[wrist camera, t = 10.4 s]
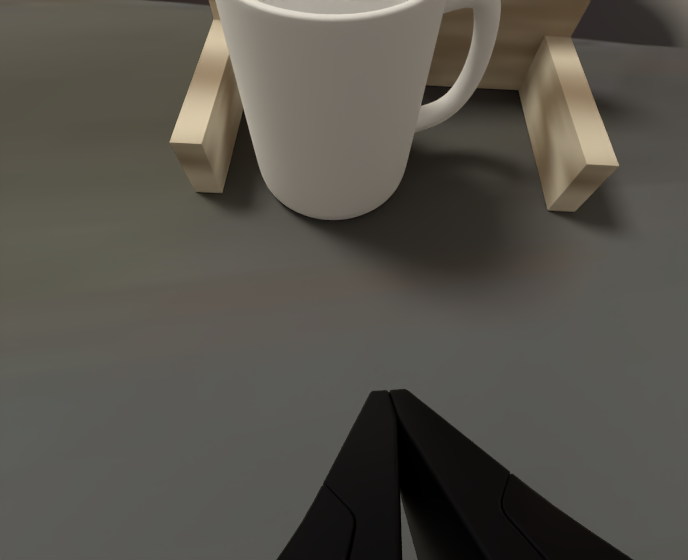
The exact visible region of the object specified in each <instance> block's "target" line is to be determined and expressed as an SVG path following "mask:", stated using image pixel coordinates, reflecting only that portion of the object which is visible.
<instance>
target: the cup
mask: <svg viewBox="0 0 688 560" xmlns="http://www.w3.org/2000/svg"><path fill="white" fill-rule="evenodd" d="M215 2H216V5H217V9H218V13H219V17H220V21H221V24H222V28H223V32H224V36H225V40H226V44H227V47H228V51H229V55H230V59H231V63H232V66H233V70H234V74H235V78H236V82H237V86H238V89H239V93H240V97H241V101H242V105H243V108H244V112H245V116H246V120H247V124H248V128H249V131H250V135H251V139H252V143H253V147H254V150H255V154H256V158H257V162H258V165H259V168H260V171H261V174H262V177H263V179H264V181H265V183H266V185H267V187H268V188H269V190H270V191H271V192H272V194H273V195H274V196H275V197H276V198H277V199H278V200H279V201H280V202H282V203H283V204H284V205H285V206H287V207H288V208H290V209H292V210H294V211H296V212H298V213H300V214H303V215H305V216H308V217H312V218H316V219H323V220H343V219H349V218H354V217H358V216H361V215H363V214H366V213H368V212H370V211H372V210H374V209H376V208H377V207H379V206H380V205H382V204H383V203H384V202H385V201H386V200H387V199H388V198H389V197H390V196H391V195H392V194H393V193H394V192H395V190H396V189H397V187H398V185H399V184H400V182H401V179H402V177H403V174H404V172H405V168H406V165H407V161H408V157H409V153H410V148H411V144H412V140H413V136H414V133H415V132H419V131H422V130H426V129H428V128H431V127H434V126H436V125H438V124H440V123H442V122H444V121H445V120H447V119H448V118H450V117H451V116H452V115H454V114H455V113H456V112H457V111H458V110H460V108H461V107H462V106H463V105H464V104H465V103H466V102H467V101H468V100H469V98H470V97H471V95H472V94H473V93H474V91H475V89H476V88H477V86H478V84H479V83H480V81H481V79H482V77H483V75H484V73H485V70H486V68H487V65H488V63H489V60H490V57H491V54H492V51H493V48H494V45H495V41H496V37H497V32H498V28H499V22H500V14H501V0H215ZM461 8H473V12H474V29H473V36H472V42H471V46H470V50H469V54H468V57H467V60H466V62H465V65H464V67H463V70H462V72H461V74H460V76H459V77H458V79H457V81H456V82H455V84H454V85H453V86H452V88H451V89H450V90H449V91H448V92H447V93H446V94H445V95H444V96H443V97H441V98H440V99H438V100H436V101H434V102H432V103H429V104H426V105H422V106H421V103H422V99H423V95H424V90H425V86H426V82H427V78H428V74H429V70H430V66H431V61H432V57H433V53H434V49H435V45H436V41H437V37H438V32H439V28H440V24H441V20H442V16H443V13H447V12H450V11H453V10H457V9H461Z"/></svg>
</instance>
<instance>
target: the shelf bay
mask: <svg viewBox="0 0 688 560" xmlns="http://www.w3.org/2000/svg"><path fill="white" fill-rule="evenodd" d="M590 1H591V0H501V14H500V22H499V28H498V32H497V37H496V41H495V45H494V48H493V51H492V54H491V57H490V60H489V63H488V65H487V68H486V70H485V73H484V75H483V77H482V79H481V81H480V83H479V84H478V86H477V88H487V89H506V90H518V91H519V95H520V100H521V104H522V108H523V112H524V116H525V120H526V124H527V128H528V132H529V136H530V140H531V144H532V148H533V153H534V157H535V161H536V165H537V169H538V173H539V177H540V181H541V185H542V189H543V193H544V197H545V202H546V206H547V210H550V211H569V212H575V211H576V210H577V209H578V208H579V207H580V206H581V205H582V204H583V203H584V202H585V201H586V200H587V199H588V198H589V197H590V196H591V195H592V194H593V192H594V191H595V190H596V189H597V188H598V187H599V186H600V185H601V184H602V183H603V182H604V181H605V180H606V179H607V178H608V177H609V176H610V175H611V174H612V173H613V172H614V171H615V170H616V169H617V168H618V167H619V164H618V162H617V159H616V156H615V154H614V151H613V148H612V146H611V143H610V140H609V138H608V135H607V132H606V130H605V127H604V124H603V122H602V119H601V117H600V114H599V111H598V109H597V106H596V103H595V101H594V98H593V95H592V93H591V90H590V87H589V85H588V82H587V79H586V77H585V74H584V72H583V69H582V66H581V64H580V61H579V58H578V56H577V53H576V50H575V48H574V45H573V42H572V40H571V35H572V34H573V32H574V30H575V28H576V26H577V25H578V23H579V21H580V19H581V17H582V15H583V14H584V12H585V10H586V8H587V6H588V5H589V3H590ZM209 3H210V6H211V10H212V14H213V17H214V20H213V23H212V26H211V29H210V31H209V34H208V37H207V40H206V42H205V45H204V48H203V51H202V54H201V56H200V59H199V62H198V65H197V67H196V70H195V73H194V76H193V79H192V81H191V84H190V87H189V90H188V92H187V95H186V98H185V101H184V104H183V106H182V109H181V112H180V115H179V117H178V120H177V123H176V126H175V128H174V131H173V134H172V137H171V140H170V144H171V146H172V148H173V150H174V152H175V154H176V156H177V158H178V160H179V161H180V163H181V165H182V167H183V169H184V171H185V173H186V175H187V177H188V179H189V181H190V182H191V184H192V186H193V188H194V190H195V192H210V193H223V189H224V185H225V181H226V177H227V173H228V169H229V165H230V161H231V157H232V153H233V149H234V145H235V141H236V137H237V133H238V129H239V125H240V121H241V117H242V113H243V109H244V108H243V105H242V101H241V97H240V93H239V89H238V86H237V82H236V78H235V74H234V70H233V66H232V63H231V59H230V55H229V51H228V47H227V44H226V40H225V36H224V32H223V28H222V24H221V21H220V17H219V13H218V9H217V5H216V2H215V0H209ZM473 29H474V12H473V8H461V9H457V10H453V11H450V12H447V13H443V16H442V20H441V24H440V28H439V32H438V37H437V41H436V45H435V49H434V53H433V57H432V61H431V66H430V70H429V74H428V78H427V82H426V85H429V86H448V87H452V86H453V85H454V84H455V82H456V81H457V79H458V77H459V76H460V74H461V72H462V70H463V67H464V65H465V62H466V60H467V57H468V54H469V50H470V46H471V42H472V36H473Z"/></svg>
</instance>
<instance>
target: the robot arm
mask: <svg viewBox="0 0 688 560" xmlns="http://www.w3.org/2000/svg"><path fill="white" fill-rule="evenodd" d="M400 495H401V499H402V503H403V507H404V511H405V514H406V518H407V521H408V525H409V529H410V532H411V536H412V540H413V543H414V547H415V551H416V554H417V558H418V560H633V559H631V558H630V557H628V556H627V555H625V554H624V553H622V552H621V551H619V550H618V549H616V548H615V547H613V546H612V545H610V544H609V543H607V542H606V541H604V540H603V539H602V538H600V537H599V536H597V535H596V534H594V533H593V532H591V531H590V530H588V529H587V528H585V527H584V526H582V525H581V524H580V523H578V522H577V521H575V520H574V519H572V518H571V517H569V516H568V515H567V514H565V513H564V512H562V511H561V510H559V509H558V508H557V507H555V506H554V505H552V504H551V503H550V502H549V501H547V500H546V499H545V498H543V497H542V496H541V495H539V494H538V493H537V492H535V491H534V490H533V489H531V488H530V487H529V486H528V485H526V484H525V483H524V482H523V481H521V480H520V479H519V478H517V477H516V476H515V475H514V474H510V472H509V471H508V470H507V469H506V468H505V467H503V466H502V465H501V464H500V463H498V462H497V461H496V460H495V459H493V458H492V457H491V456H490V455H488V454H487V453H486V452H485V451H483V450H482V449H481V448H480V447H478V446H477V445H476V444H475V443H473V442H472V441H471V440H470V439H468V438H467V437H466V436H465V435H463V434H462V433H461V432H460V431H458V430H457V429H456V428H455V427H453V426H452V425H451V424H450V423H448V422H447V421H446V420H445V419H443V418H442V417H441V416H439V415H438V414H437V413H436V412H434V411H433V410H432V409H431V408H429V407H428V406H427V405H426V404H424V403H423V402H422V401H421V400H419V399H418V398H417V397H416V396H414V395H413V394H412V393H411V392H409V391H408V390H406V389H398V390H391V391H390V392H388V391H386V390H382V391H372V392H371V393H370V394H369V396H368V398H367V400H366V402H365V404H364V406H363V408H362V410H361V412H360V413H359V415H358V417H357V419H356V421H355V423H354V425H353V427H352V429H351V431H350V433H349V435H348V437H347V439H346V440H345V442H344V444H343V446H342V448H341V450H340V452H339V454H338V456H337V458H336V460H335V462H334V464H333V465H332V467H331V469H330V471H329V473H328V475H327V477H326V479H325V481H324V483H323V486H321V488H320V490H319V492H318V494H317V496H316V498H315V500H314V502H313V503H312V505H311V507H310V509H309V510H308V512H307V514H306V516H305V517H304V519H303V521H302V523H301V524H300V526H299V527H298V529H297V530H296V532H295V533H294V535H293V536H292V538H291V539H290V541H289V542H288V544H287V545H286V547H285V548H284V550H283V551H282V553H281V554H280V555H279V557H278V558H277V560H402V537H401V506H400Z"/></svg>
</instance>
